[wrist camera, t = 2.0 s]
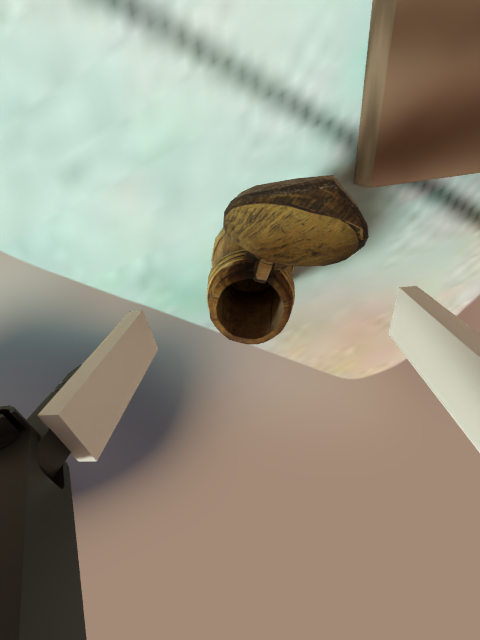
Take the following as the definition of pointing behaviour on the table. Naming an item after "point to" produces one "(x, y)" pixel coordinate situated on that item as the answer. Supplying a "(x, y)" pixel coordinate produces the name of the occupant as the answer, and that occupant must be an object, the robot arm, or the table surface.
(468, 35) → the walnut stand
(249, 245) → the wooden mug
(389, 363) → the table surface
